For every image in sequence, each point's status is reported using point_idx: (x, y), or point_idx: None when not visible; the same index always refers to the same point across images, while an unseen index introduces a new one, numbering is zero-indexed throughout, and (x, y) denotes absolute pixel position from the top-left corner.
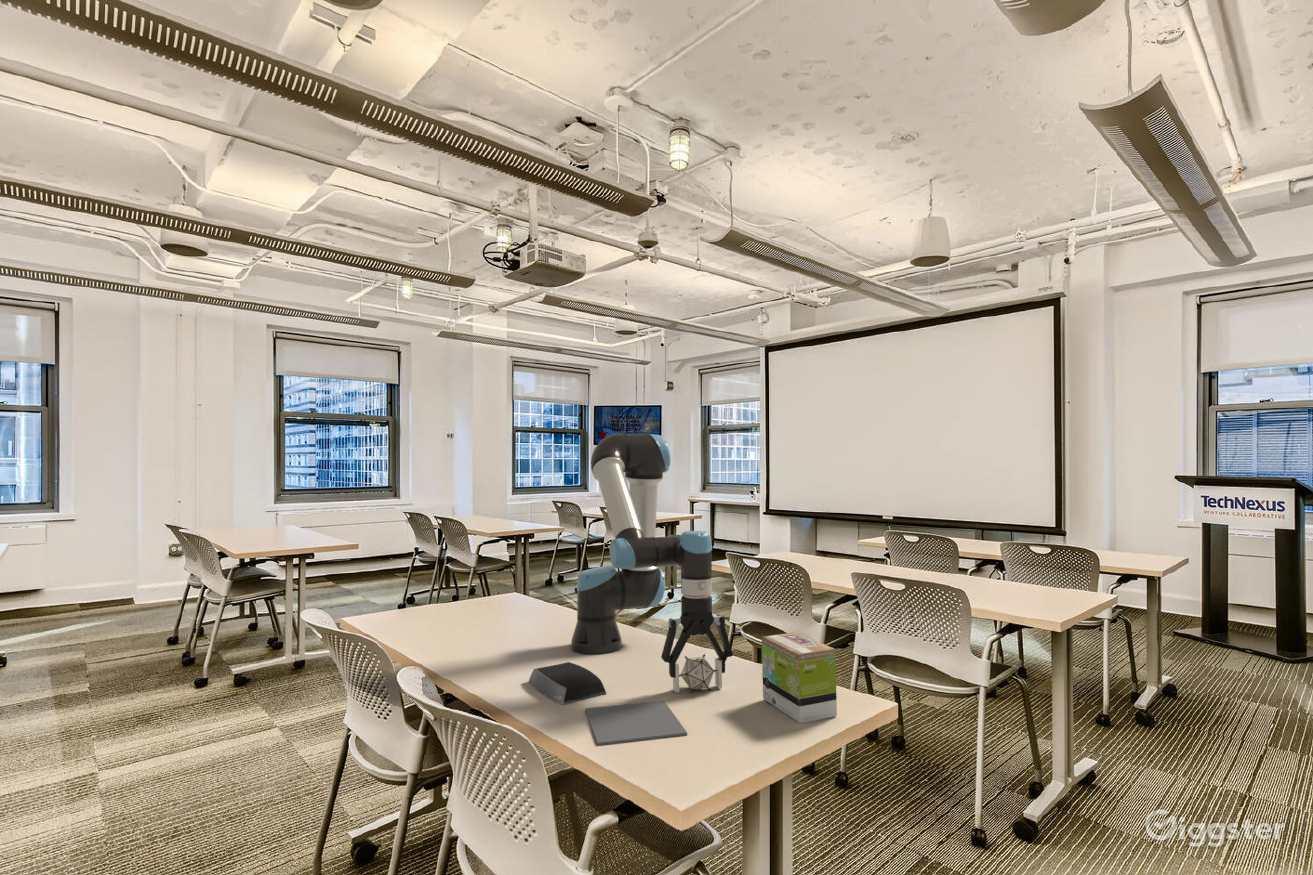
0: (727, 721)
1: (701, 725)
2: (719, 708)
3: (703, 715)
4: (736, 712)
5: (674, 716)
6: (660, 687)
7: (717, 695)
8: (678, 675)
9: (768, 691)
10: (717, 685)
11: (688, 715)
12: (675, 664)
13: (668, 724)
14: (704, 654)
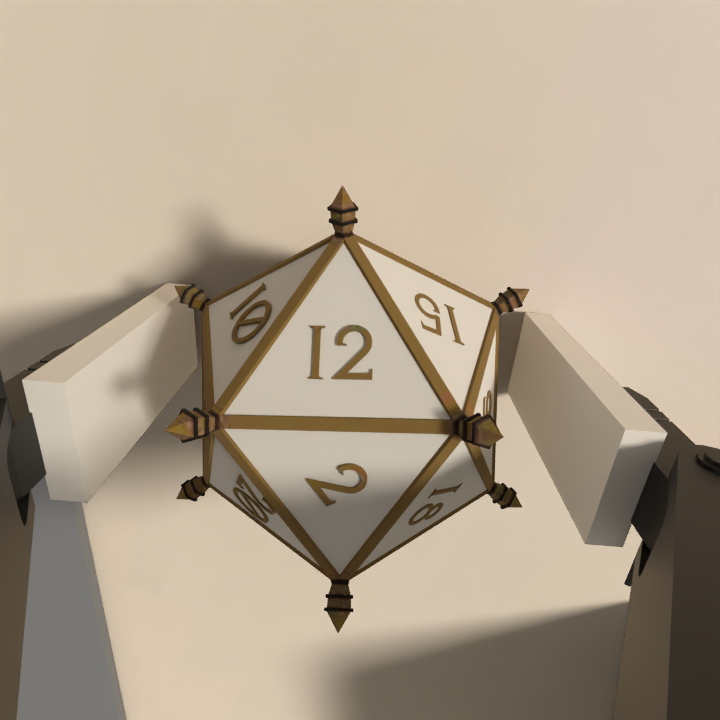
0: (331, 713)
1: (210, 709)
2: (360, 611)
3: (251, 646)
4: (417, 665)
5: (98, 649)
6: (77, 180)
7: None
8: (138, 431)
9: None
10: (517, 366)
11: (179, 627)
12: (48, 479)
13: (60, 698)
14: (489, 440)
